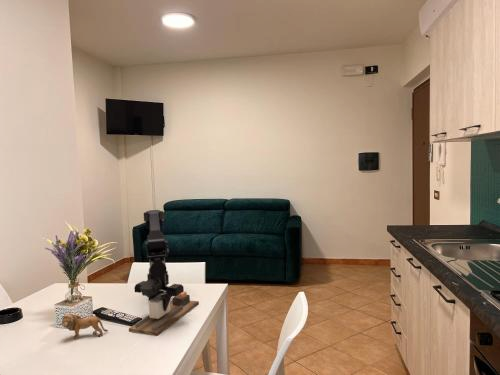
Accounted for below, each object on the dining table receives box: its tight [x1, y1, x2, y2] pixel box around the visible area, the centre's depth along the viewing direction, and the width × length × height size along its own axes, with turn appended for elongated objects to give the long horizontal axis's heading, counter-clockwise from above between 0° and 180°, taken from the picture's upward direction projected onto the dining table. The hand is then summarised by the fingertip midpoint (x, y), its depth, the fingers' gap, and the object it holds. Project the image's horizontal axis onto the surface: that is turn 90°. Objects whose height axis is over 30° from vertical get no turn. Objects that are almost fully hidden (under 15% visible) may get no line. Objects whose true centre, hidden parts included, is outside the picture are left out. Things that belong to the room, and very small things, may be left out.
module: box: [148, 293, 170, 319], centre depth 141 cm, size 4×8×7 cm, turn 159°
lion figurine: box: [61, 313, 109, 341], centre depth 131 cm, size 15×5×9 cm, turn 110°
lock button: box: [174, 291, 188, 299], centre depth 155 cm, size 3×3×3 cm
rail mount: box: [128, 294, 199, 337], centre depth 145 cm, size 12×30×4 cm, turn 159°
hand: (160, 310), depth 141 cm, fingers open, 4 cm apart
